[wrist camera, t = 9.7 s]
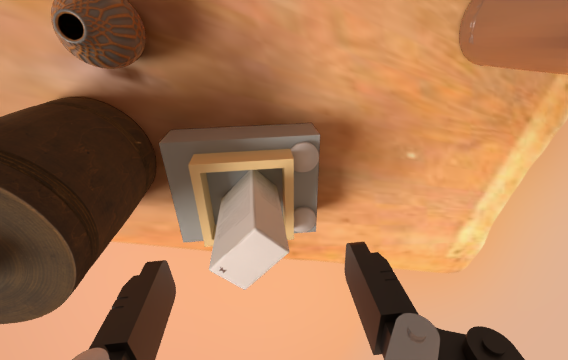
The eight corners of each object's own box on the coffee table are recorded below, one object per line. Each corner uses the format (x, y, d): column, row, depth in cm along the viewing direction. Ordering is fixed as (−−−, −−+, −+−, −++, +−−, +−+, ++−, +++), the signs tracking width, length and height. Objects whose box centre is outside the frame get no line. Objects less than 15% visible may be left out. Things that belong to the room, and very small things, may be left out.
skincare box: (246, 216, 35) (244, 292, 24) (220, 198, 33) (205, 271, 23) (279, 185, 33) (291, 253, 23) (253, 164, 32) (254, 227, 21)
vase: (139, -14, 27) (93, -36, 19) (163, 60, 30) (132, 67, 22) (70, -4, 27) (-5, -22, 19) (101, 70, 30) (49, 80, 22)
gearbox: (311, 122, 35) (326, 143, 28) (309, 211, 42) (320, 246, 35) (171, 129, 34) (149, 153, 27) (191, 220, 40) (178, 258, 33)
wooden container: (22, 181, 35) (-265, 358, 16) (35, 73, 29) (-383, 136, 10) (140, 218, 39) (32, 392, 20) (171, 129, 34) (62, 250, 14)
